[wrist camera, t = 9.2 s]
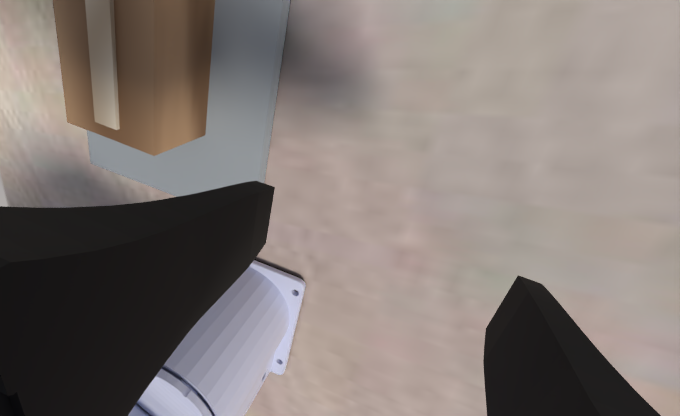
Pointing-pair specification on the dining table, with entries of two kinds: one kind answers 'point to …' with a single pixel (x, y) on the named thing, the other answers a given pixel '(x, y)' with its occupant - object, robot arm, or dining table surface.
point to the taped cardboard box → (137, 68)
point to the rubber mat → (219, 109)
